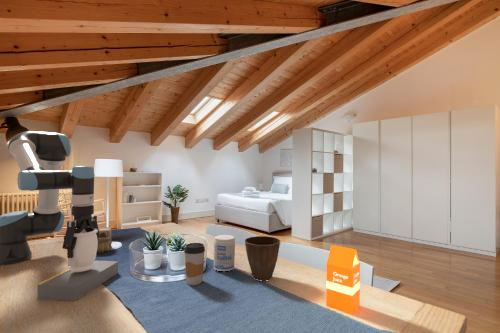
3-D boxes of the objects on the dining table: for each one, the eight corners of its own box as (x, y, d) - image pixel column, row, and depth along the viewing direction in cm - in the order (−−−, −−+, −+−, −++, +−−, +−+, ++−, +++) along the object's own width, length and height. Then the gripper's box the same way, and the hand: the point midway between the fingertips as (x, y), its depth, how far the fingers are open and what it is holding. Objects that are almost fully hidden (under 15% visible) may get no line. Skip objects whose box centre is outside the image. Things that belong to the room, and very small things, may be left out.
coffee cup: (208, 280, 116) (209, 244, 116) (196, 288, 108) (197, 249, 108) (192, 276, 119) (192, 241, 119) (179, 284, 112) (179, 246, 112)
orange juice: (335, 297, 101) (335, 242, 101) (360, 305, 96) (360, 247, 96) (325, 305, 95) (326, 247, 95) (351, 314, 90) (352, 252, 90)
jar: (83, 274, 104) (83, 234, 104) (59, 272, 106) (60, 232, 106) (103, 264, 115) (103, 228, 115) (81, 262, 117) (82, 226, 117)
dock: (88, 271, 124) (88, 259, 124) (118, 272, 123) (118, 260, 123) (37, 298, 98) (37, 283, 98) (74, 301, 97) (74, 285, 97)
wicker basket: (85, 248, 159) (85, 228, 159) (112, 246, 164) (112, 226, 164) (78, 256, 145) (79, 234, 145) (109, 253, 150) (109, 232, 150)
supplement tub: (216, 274, 122) (217, 240, 122) (211, 267, 131) (211, 235, 131) (237, 271, 126) (237, 238, 126) (230, 264, 135) (231, 233, 135)
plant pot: (238, 280, 115) (238, 242, 115) (254, 269, 129) (254, 234, 129) (271, 288, 108) (271, 247, 108) (284, 275, 122) (285, 238, 122)
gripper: (69, 209, 99) (69, 272, 99) (109, 201, 121) (109, 252, 122) (50, 209, 99) (49, 271, 100) (93, 201, 122) (93, 251, 122)
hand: (82, 260), depth 111 cm, fingers closed on jar, 10 cm apart
